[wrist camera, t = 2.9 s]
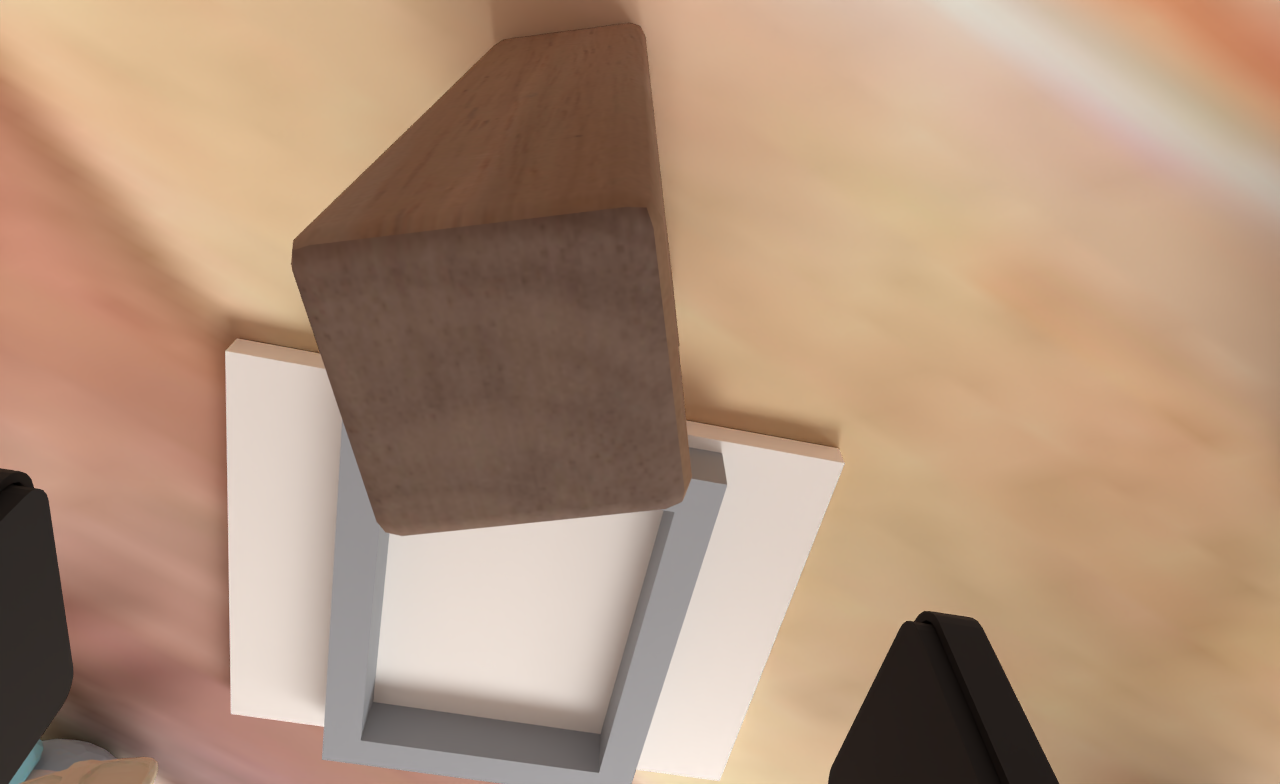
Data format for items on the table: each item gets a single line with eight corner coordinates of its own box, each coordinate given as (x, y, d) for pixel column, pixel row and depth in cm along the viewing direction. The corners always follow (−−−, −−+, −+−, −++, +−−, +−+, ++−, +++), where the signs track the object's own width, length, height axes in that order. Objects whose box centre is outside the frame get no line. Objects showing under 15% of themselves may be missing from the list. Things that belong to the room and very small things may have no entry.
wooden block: (674, 301, 30) (721, 741, 14) (544, 317, 30) (447, 765, 14) (643, 19, 25) (659, 195, 10) (492, 39, 26) (268, 243, 10)
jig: (839, 448, 33) (857, 495, 30) (717, 762, 41) (723, 820, 39) (237, 338, 30) (199, 378, 28) (240, 695, 39) (211, 752, 36)
